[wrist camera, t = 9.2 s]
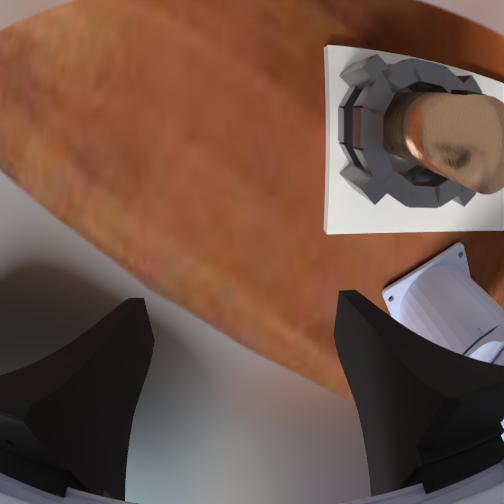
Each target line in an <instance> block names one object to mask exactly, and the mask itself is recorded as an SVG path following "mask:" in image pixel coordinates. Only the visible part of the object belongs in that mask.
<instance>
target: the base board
mask: <svg viewBox="0 0 504 504" xmlns="http://www.w3.org/2000/svg"><path fill="white" fill-rule="evenodd" d="M375 54H378V55H379V56H380V57H381V58H382V59H383V60H384V62H385V63H386V64H395V63H397V62H399V61H402V60H406V59H410V58H411V59H412V58H415V57H410V56H405V55H400V54H395V53H389V52H383V51H377V50H370V49H363V48H355V47H346V46H335V45H327V46H326V47H324V64H325V96H326V175H325V209H324V230H325V232H326V233H327V234H354V233H392V232H439V231H504V188H503V189H501V190H500V191H498V192H496V193H493V194H488V195H485V194H480V193H477V192H476V195H475V196H474V197H473V198H472V199H471V200H470V201H469V202H468V204H467V205H466V206H465V207H464V206H462V205H460V204H458V203H457V202H455V201H453V200H451V201H449V202H448V203H446V204H444V205H443V206H441V207H438V208H408V207H406V206H404V205H403V204H401V203H400V202H399V201H397V200H396V199H394V198H393V197H391V196H390V195H388V194H386V195H385V196H384V197H383V198H382V199H381V200H380V201H379V202H378V203H377V204H376V205H374V204H373V203H371V202H370V201H369V200H368V199H366V198H365V197H364V196H362V195H361V194H360V193H359V192H357V191H356V190H355V189H353V188H352V187H351V186H350V185H349V184H348V183H347V182H346V181H345V180H344V178H343V177H342V176H341V175H340V174H339V173H340V172H341V171H342V170H343V169H344V168H345V167H346V166H347V165H348V164H349V162H348V160H347V158H346V156H345V154H344V152H343V150H342V149H341V147H340V145H339V142H340V141H338V108H341V107H339V104H340V103H341V101H342V99H343V97H344V96H345V94H346V92H347V91H348V89H349V86H348V85H347V84H346V82H345V81H344V80H343V79H342V78H341V77H340V76H339V75H340V74H341V73H342V72H344V71H345V70H346V69H347V68H348V67H349V66H350V65H351V64H353V63H355V62H358V61H360V60H363V59H365V58H368V57H370V56H373V55H375ZM415 59H420V58H415ZM420 60H424V59H420ZM424 61H428V60H424ZM428 62H433V61H428ZM433 63H437V62H433ZM437 64H441V63H437ZM441 65H444V64H441ZM444 67H447V68H448V69H449V70H450V71H452V72H453V73H454V74H455V75H456V76H465V75H472V76H473V78H474V79H475V81H476V82H477V84H478V86H479V87H480V89H481V90H482V94H486V95H487V96H492V97H495V98H497V99H499V100H500V101H502V102H503V103H504V83H501V82H499V81H496V80H493V79H490V78H487V77H485V76H482V75H478V74H475V73H472V72H469V71H466V70H462V69H459V68H455V67H452V66H448V65H444ZM396 92H412V91H411V90H410V89H409V88H407V87H404V88H402V89H400V90H398V91H396ZM386 153H387V152H386ZM387 155H388V157H389V159H390V161H391V164H392V166H393V168H394V170H395V171H396V172H406V171H408V170H410V169H411V168H413V167H415V166H417V164H415V163H412V162H410V161H407V160H405V159H403V158H400V157H398V156H395V155H393V154H390V153H387Z"/></svg>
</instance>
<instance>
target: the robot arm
mask: <svg viewBox="0 0 504 504" xmlns="http://www.w3.org/2000/svg"><path fill="white" fill-rule="evenodd" d="M460 252H461V253H460ZM459 253H460V255H459ZM382 296H383V298H384V300H385V303H386V305H387V307H388V310H389V312H390V314H391V316H389V315H388V314H387V313H385V312H384V311H383V310H381V309H380V308H379V307H377V306H376V305H375V304H373V303H372V302H371V301H370V300H368V299H367V298H366V297H364V296H363V295H362V294H360V293H359V292H357V291H356V290H344V291H339V297H338V305H337V313H336V321H335V328H334V339H335V343H336V348H337V352H338V356H339V359H340V362H341V365H342V368H343V370H344V373H345V376H346V378H347V381H348V384H349V386H350V389H351V392H352V395H353V397H354V400H355V403H356V406H357V410H358V413H359V418H360V422H361V427H362V432H363V437H364V443H365V448H366V454H367V460H368V468H369V476H370V487H371V497H369V498H364V499H360V500H355V501H349V502H344V503H338V504H504V310H503V309H502V308H501V307H500V306H499V305H498V304H497V303H496V302H495V301H494V300H493V299H492V298H491V297H490V296H489V295H488V294H487V293H486V292H485V291H484V290H483V289H482V288H481V287H480V286H479V285H478V284H477V283H476V282H475V281H474V280H473V279H471V278H470V272H469V267H468V262H467V258H466V253H465V248H464V245H463V244H462V243H460V242H458V243H456V244H454V245H453V246H451V247H450V248H448V249H447V250H445V251H444V252H442V253H441V254H439V255H438V256H436V257H435V258H433V259H431V260H430V261H428V262H427V263H425V264H424V265H422V266H420V267H419V268H417V269H416V270H414V271H412V272H411V273H409V274H408V275H406V276H404V277H403V278H401V279H399V280H398V281H396V282H394V283H393V284H391V285H389V286H388V287H386V288H385V289H384V290H383V291H382ZM390 296H392V298H390V299H389V297H390ZM154 341H155V340H154V337H153V333H152V329H151V325H150V321H149V317H148V313H147V310H146V306H145V301H144V298H129V299H127V300H125V301H124V302H123V303H121V304H120V305H119V306H118V307H116V308H115V309H114V310H113V311H111V312H110V313H109V314H108V315H106V316H105V317H104V318H103V319H101V320H100V321H99V322H98V323H96V324H95V325H94V326H93V327H91V328H90V329H89V330H87V331H86V332H84V333H83V334H82V335H80V336H79V337H78V338H76V339H75V340H73V341H72V342H71V343H69V344H67V345H66V346H64V347H63V348H61V349H59V350H58V351H56V352H54V353H53V354H51V355H49V356H47V357H45V358H43V359H41V360H39V361H37V362H35V363H33V364H30V365H28V366H26V367H23V368H21V369H18V370H16V371H13V372H10V373H7V374H4V375H0V504H137V503H131V502H126V501H125V479H126V465H127V455H128V446H129V439H130V432H131V427H132V421H133V416H134V412H135V409H136V405H137V402H138V399H139V396H140V393H141V390H142V387H143V384H144V381H145V377H146V375H147V372H148V369H149V366H150V362H151V357H152V352H153V347H154Z"/></svg>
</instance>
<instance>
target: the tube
mask: <svg viewBox="0 0 504 504" xmlns="http://www.w3.org/2000/svg"><path fill="white" fill-rule="evenodd" d="M383 146H384V148H385V150H386V152H387V153H390V154H393V155H395V156H398V157H400V158H403V159H405V160H407V161H410V162H412V163H415V164H417V165H419V166H422V167H424V168H426V169H429V170H431V171H433V172H435V173H438V174H440V175H442V176H444V177H446V178H449V179H451V180H453V181H455V182H457V183H459V184H461V185H463V186H465V187H467V188H469V189H471V190H473V191H475V192H477V193H480V194H485V195H488V194H493V193H496V192H498V191H500V190H501V189H503V188H504V103H503V102H502V101H500V100H499V99H497V98H495V97H492V96H487V95H486V94H482V93H477V92H473V91H468V90H451V93H437V92H396V93H395V95H394V97H393V99H392V100H391V102H390V104H389V106H388V108H387V109H386V111H385V113H384V115H383Z"/></svg>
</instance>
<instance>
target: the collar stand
mask: <svg viewBox="0 0 504 504" xmlns="http://www.w3.org/2000/svg"><path fill="white" fill-rule="evenodd" d="M339 76H340V77H341V78H342V79H343V80H344V81H345V82H346V84H347V85H348V86H349V89H348V91H347V92H346V94H345V96H344V97H343V99H342V101H341V103H340V104H339V107H341V108H338V141H340V142H339V145H340V147H341V149H342V150H343V152H344V154H345V156H346V158H347V160H348V162H349V164H348V165H347V166H346V167H345V168H344V169H343V170H342V171H341V172H340V173H339V174H340V175H341V176H342V177H343V178H344V180H345V181H346V182H347V183H348V184H349V185H350V186H351V187H352V188H353V189H355V190H356V191H357V192H359V193H360V194H361V195H362V196H364V197H365V198H366V199H368V200H369V201H370V202H371V203H373V204H374V205H376V204H377V203H378V202H379V201H380V200H381V199H382V198H383V197H384V196H385V195H386V194H388V195H390V196H391V197H393V198H394V199H396V200H397V201H399V202H400V203H401V204H403V205H404V206H406V207H408V208H438V207H441V206H443V205H444V204H446V203H448V202H449V201H451V200H453V201H455V202H457V203H458V204H460V205H462V206H464V207H465V206H466V205H467V204H468V202H469V201H470V200H471V199H472V198H473V197H474V196H475V195H476V192H475V191H473V190H471V189H469V188H467V187H465V186H463V185H461V184H459V183H457V182H455V181H453V180H451V179H449V178H446V177H444V176H442V175H440V174H438V173H435V172H433V171H431V170H429V169H426V168H424V167H422V166H419V165H417V166H415V167H413V168H411V169H410V170H408V171H406V172H396V171H395V170H394V168H393V166H392V164H391V161H390V159H389V157H388V155H387V153H386V150H385V148H384V146H383V115H384V113H385V111H386V109H387V108H388V106H389V104H390V102H391V100H392V99H393V97H394V95H395V93H396V91H398V90H400V89H402V88H404V87H407V88H409V89H410V90H411V91H412V92H437V93H451V90H468V91H473V92H477V93H482V90H481V89H480V87H479V86H478V84H477V82H476V81H475V79H474V78H473V76H472V75H465V76H456V75H455V74H454V73H453V72H452V71H450V70H449V69H448V68H447V67H444V65H441V64H437V63H433V62H428V61H424V60H420V59H415V58H412V59H411V58H410V59H406V60H402V61H399V62H397V63H395V64H386V63H385V62H384V60H383V59H382V58H381V57H380V56H379V55H378V54H375V55H373V56H370V57H368V58H365V59H363V60H360V61H358V62H355V63H353V64H351V65H350V66H349V67H348V68H347V69H346V70H345V71H344V72H342V73H341V74H340V75H339Z"/></svg>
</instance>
